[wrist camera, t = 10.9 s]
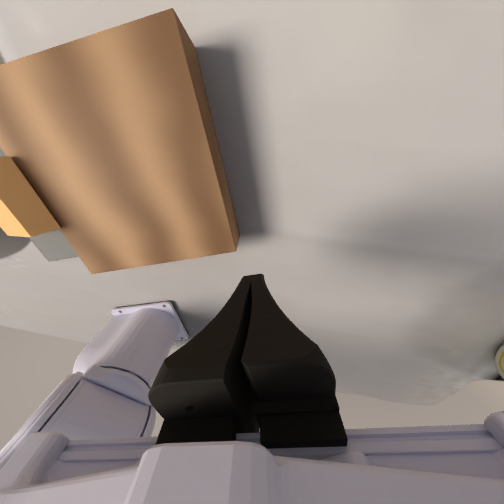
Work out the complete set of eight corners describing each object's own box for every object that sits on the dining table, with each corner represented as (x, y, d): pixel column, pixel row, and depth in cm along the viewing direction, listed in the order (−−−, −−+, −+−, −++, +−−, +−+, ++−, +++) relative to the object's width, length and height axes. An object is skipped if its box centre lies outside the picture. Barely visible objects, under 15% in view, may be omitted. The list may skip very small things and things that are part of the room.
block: (33, 228, 21) (8, 235, 19) (-10, 173, 18) (-43, 176, 17) (60, 228, 17) (31, 237, 15) (9, 155, 14) (-33, 158, 12)
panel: (117, 256, 23) (91, 274, 19) (21, 98, 16) (-48, 80, 12) (239, 235, 21) (235, 251, 17) (194, 46, 14) (172, 7, 10)
